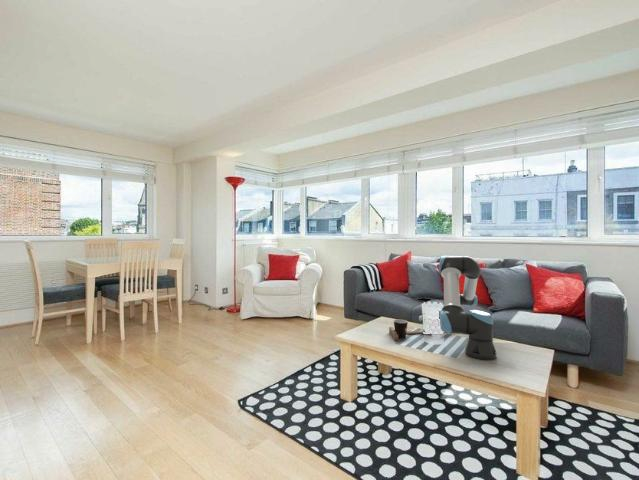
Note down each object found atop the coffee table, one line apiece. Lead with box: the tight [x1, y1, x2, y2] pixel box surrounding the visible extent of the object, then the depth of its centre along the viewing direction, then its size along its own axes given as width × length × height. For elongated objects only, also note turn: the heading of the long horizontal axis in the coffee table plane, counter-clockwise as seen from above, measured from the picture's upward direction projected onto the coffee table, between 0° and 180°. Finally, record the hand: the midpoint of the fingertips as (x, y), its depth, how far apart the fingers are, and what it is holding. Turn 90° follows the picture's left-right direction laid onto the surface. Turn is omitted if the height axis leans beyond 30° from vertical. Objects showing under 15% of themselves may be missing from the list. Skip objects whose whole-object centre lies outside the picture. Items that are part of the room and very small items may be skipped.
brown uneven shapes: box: [388, 326, 423, 342], centre depth 205 cm, size 17×27×13 cm, turn 90°
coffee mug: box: [393, 319, 409, 339], centre depth 204 cm, size 12×9×10 cm
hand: (429, 320), depth 213 cm, fingers open, 13 cm apart
